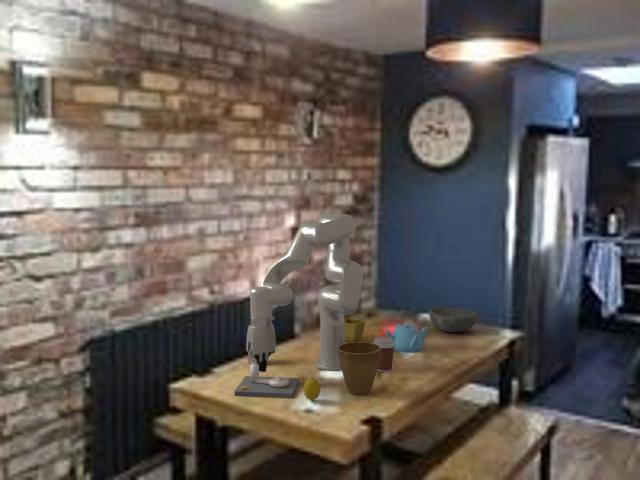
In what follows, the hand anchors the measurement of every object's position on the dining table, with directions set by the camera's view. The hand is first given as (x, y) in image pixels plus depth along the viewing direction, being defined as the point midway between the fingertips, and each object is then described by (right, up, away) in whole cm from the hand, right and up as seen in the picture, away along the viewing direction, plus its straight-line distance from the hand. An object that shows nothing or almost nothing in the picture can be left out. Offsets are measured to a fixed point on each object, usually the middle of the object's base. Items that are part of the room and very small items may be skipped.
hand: (262, 371), depth 248 cm
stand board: (+2, -5, -5) cm, 8 cm away
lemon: (+18, -7, -18) cm, 26 cm away
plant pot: (+34, -6, -9) cm, 36 cm away
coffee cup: (+45, -3, +17) cm, 49 cm away
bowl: (+84, +4, +77) cm, 114 cm away
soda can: (-4, -2, +25) cm, 25 cm away
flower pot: (+35, +2, +59) cm, 69 cm away
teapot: (+58, 0, +47) cm, 74 cm away
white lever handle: (+3, -3, -5) cm, 7 cm away
